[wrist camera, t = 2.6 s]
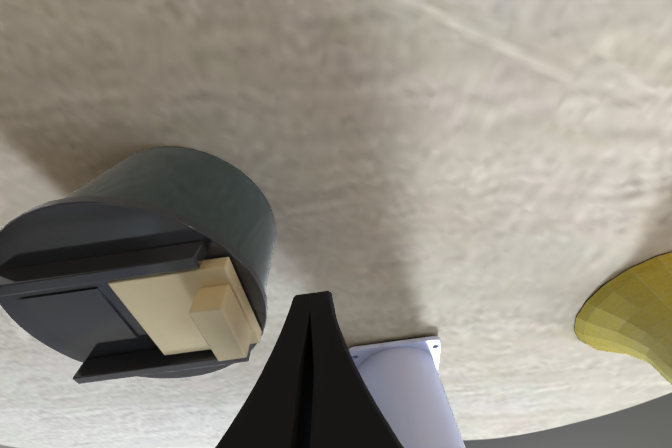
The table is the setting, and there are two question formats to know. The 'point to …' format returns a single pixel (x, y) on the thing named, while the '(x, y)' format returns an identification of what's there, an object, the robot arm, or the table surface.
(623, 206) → the table surface
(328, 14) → the table surface
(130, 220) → the canister
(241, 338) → the slider
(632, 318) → the handbell
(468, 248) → the table surface
